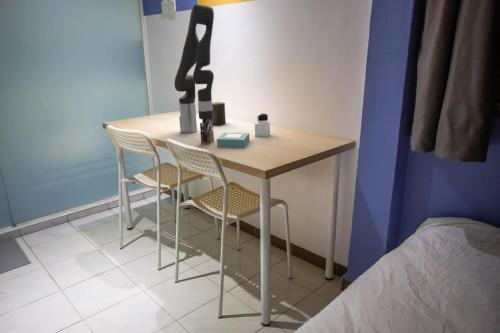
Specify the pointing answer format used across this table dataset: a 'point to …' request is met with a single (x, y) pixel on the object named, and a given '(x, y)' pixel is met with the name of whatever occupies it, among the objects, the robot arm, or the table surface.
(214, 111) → the pillar candle
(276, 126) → the table surface
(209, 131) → the walnut block
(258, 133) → the medicine bottle
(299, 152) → the table surface
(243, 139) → the teal base
